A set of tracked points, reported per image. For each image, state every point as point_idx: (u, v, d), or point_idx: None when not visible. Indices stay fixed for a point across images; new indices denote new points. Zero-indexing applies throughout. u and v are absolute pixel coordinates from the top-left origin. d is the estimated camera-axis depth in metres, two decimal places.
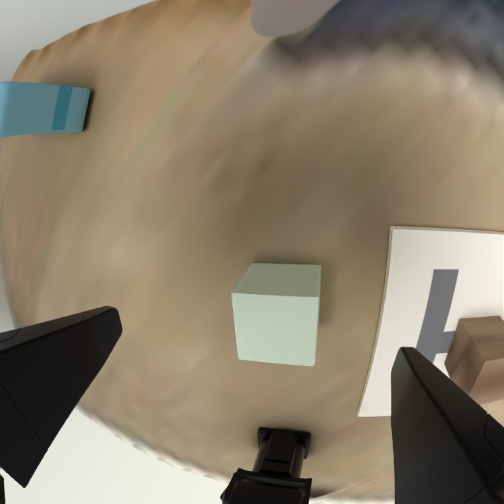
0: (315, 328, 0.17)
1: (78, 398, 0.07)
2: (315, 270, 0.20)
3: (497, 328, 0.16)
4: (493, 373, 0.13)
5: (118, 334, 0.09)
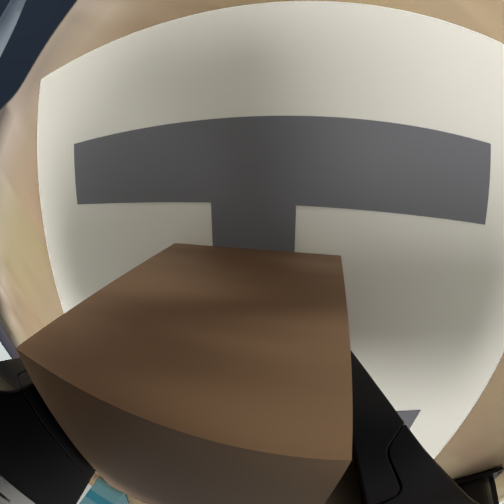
0: None
1: None
2: None
3: None
4: (132, 484, 0.04)
5: None
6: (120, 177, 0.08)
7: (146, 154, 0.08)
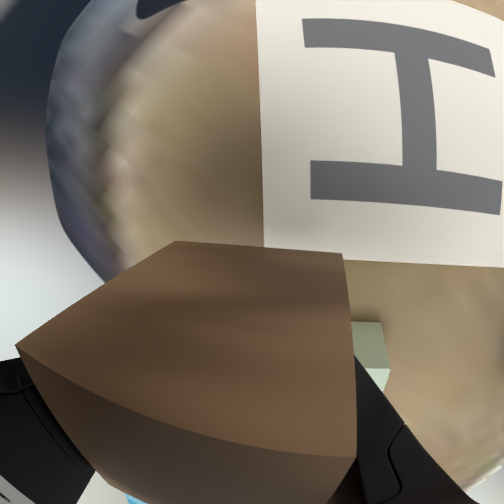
0: None
1: None
2: None
3: None
4: (132, 483, 0.04)
5: None
6: (342, 36, 0.13)
7: (358, 29, 0.12)
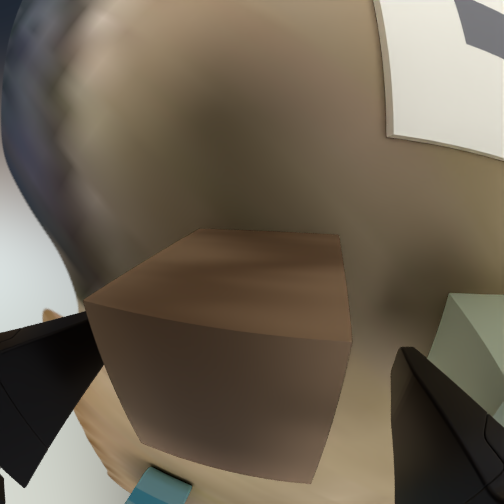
0: None
1: (78, 398, 0.07)
2: (456, 317, 0.08)
3: None
4: (170, 428, 0.06)
5: None
6: None
7: None
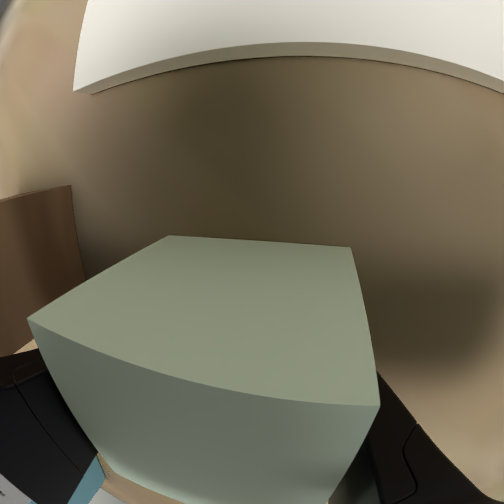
0: (112, 362, 0.03)
1: None
2: None
3: None
4: None
5: None
6: None
7: None
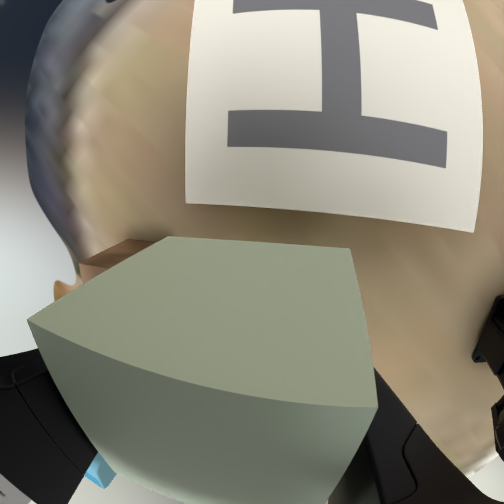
0: (112, 363, 0.03)
1: None
2: None
3: None
4: None
5: None
6: (268, 0, 0.13)
7: None
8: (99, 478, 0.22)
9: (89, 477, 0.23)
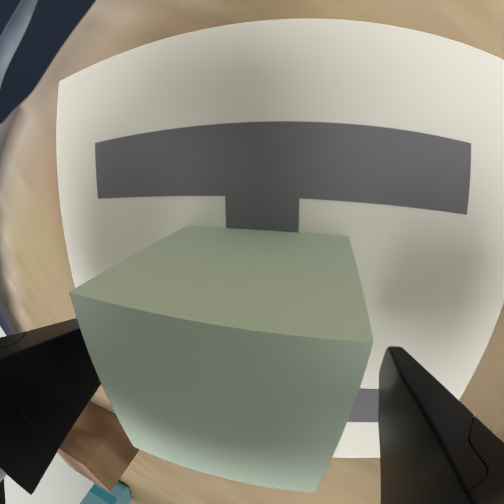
0: (158, 319, 0.04)
1: (86, 402, 0.07)
2: None
3: None
4: (72, 465, 0.14)
5: None
6: (141, 173, 0.10)
7: (166, 153, 0.09)
8: None
9: None
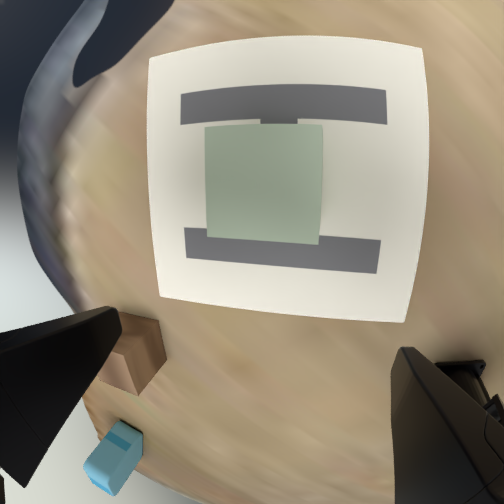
0: (250, 126, 0.12)
1: (78, 398, 0.07)
2: None
3: None
4: (104, 372, 0.22)
5: (118, 334, 0.09)
6: (212, 109, 0.17)
7: (228, 99, 0.17)
8: (110, 488, 0.26)
9: (101, 487, 0.28)
